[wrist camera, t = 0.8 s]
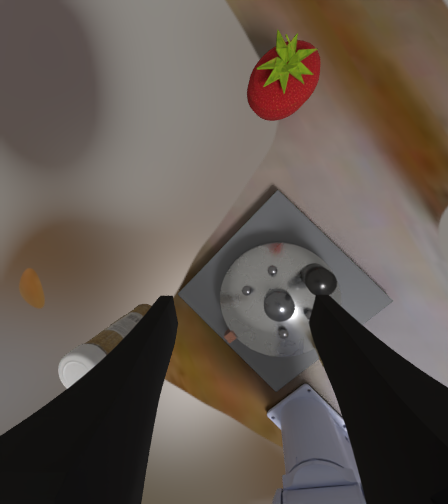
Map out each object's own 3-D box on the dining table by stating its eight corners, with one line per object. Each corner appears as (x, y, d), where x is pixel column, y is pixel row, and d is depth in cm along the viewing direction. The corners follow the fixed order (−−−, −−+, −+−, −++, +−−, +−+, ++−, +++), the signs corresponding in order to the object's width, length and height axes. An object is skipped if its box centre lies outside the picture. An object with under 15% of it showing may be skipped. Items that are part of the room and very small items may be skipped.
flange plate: (284, 376, 30) (289, 406, 25) (197, 314, 31) (186, 330, 26) (363, 286, 27) (385, 300, 22) (263, 219, 28) (263, 218, 23)
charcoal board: (388, 298, 28) (393, 301, 27) (275, 386, 32) (276, 392, 31) (277, 190, 28) (277, 189, 27) (179, 291, 32) (177, 294, 32)
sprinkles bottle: (128, 313, 34) (47, 369, 21) (148, 297, 34) (76, 345, 20) (146, 335, 34) (75, 405, 21) (166, 320, 34) (106, 383, 20)
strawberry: (240, 108, 28) (229, 46, 18) (293, 69, 26) (313, -23, 16) (263, 148, 28) (265, 108, 18) (317, 111, 26) (351, 46, 17)
